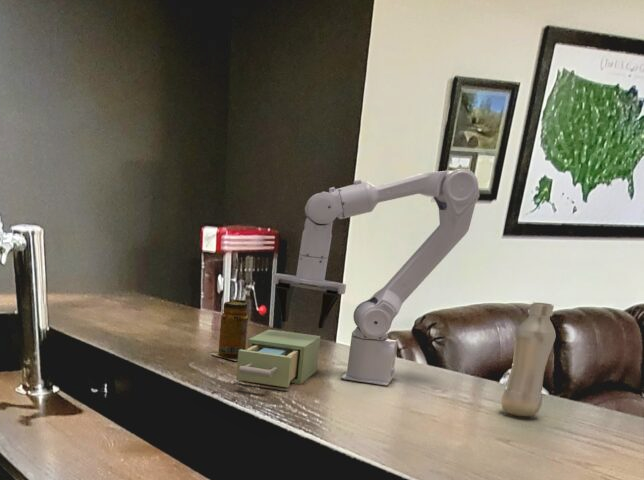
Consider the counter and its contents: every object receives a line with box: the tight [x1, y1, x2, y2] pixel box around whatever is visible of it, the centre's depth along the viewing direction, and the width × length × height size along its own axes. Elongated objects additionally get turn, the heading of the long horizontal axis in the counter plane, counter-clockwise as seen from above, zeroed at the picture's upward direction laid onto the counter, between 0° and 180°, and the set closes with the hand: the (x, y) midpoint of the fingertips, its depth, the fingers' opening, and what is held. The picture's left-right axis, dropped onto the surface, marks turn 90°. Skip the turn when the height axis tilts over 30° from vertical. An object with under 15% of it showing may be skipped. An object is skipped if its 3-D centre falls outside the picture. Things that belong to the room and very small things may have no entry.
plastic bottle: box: [500, 301, 557, 417], centre depth 128 cm, size 6×7×20 cm
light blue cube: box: [258, 348, 285, 355], centre depth 141 cm, size 4×4×4 cm
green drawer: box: [235, 344, 300, 388], centre depth 140 cm, size 18×10×6 cm, turn 157°
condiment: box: [209, 301, 249, 362], centre depth 162 cm, size 7×8×12 cm
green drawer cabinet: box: [247, 329, 322, 385], centre depth 150 cm, size 14×12×8 cm
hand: (302, 324), depth 148 cm, fingers open, 7 cm apart
